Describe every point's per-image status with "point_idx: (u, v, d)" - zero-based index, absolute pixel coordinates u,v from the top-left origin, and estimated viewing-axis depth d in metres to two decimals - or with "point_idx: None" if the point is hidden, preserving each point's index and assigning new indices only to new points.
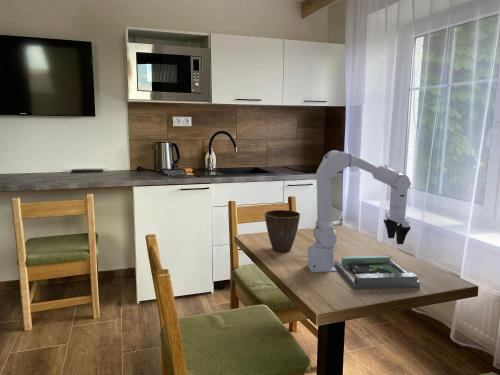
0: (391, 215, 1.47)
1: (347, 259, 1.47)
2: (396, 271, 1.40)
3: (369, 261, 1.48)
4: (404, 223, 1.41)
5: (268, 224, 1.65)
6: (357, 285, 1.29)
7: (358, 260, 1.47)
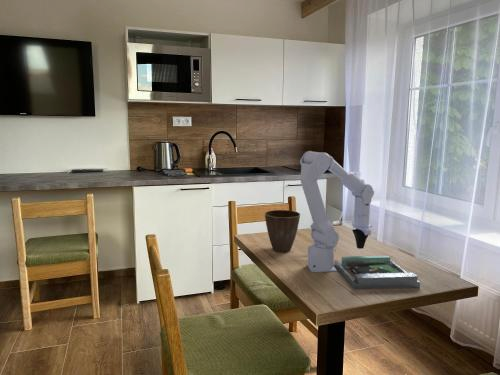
0: (355, 223, 1.52)
1: (347, 259, 1.47)
2: (396, 271, 1.40)
3: (369, 261, 1.48)
4: (366, 231, 1.47)
5: (268, 224, 1.65)
6: (357, 285, 1.29)
7: (358, 260, 1.47)
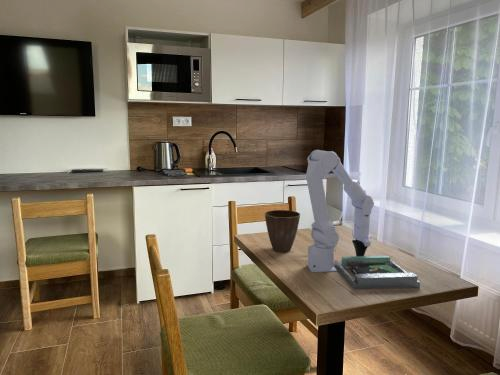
0: (355, 234, 1.52)
1: (347, 259, 1.47)
2: (396, 271, 1.40)
3: (369, 261, 1.48)
4: (366, 242, 1.47)
5: (268, 224, 1.65)
6: (357, 285, 1.29)
7: (358, 260, 1.47)
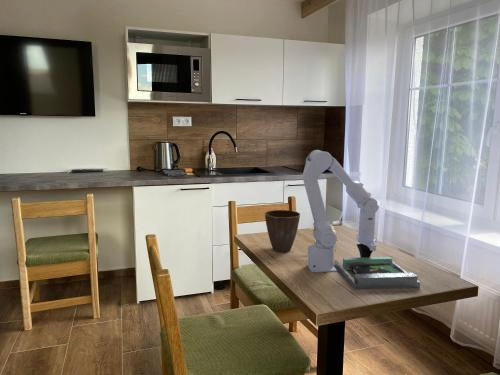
0: (360, 238, 1.47)
1: (348, 260, 1.46)
2: (397, 272, 1.39)
3: (371, 262, 1.46)
4: (371, 247, 1.42)
5: (268, 224, 1.65)
6: (357, 285, 1.29)
7: (359, 261, 1.46)
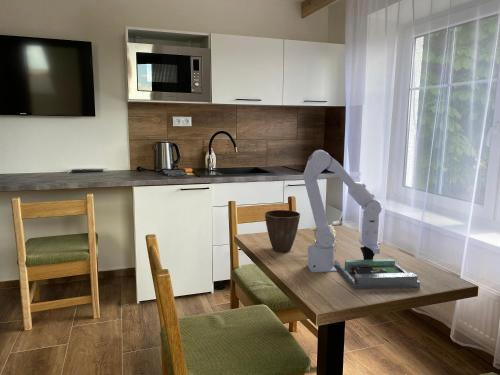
0: (363, 240, 1.44)
1: (350, 262, 1.43)
2: None
3: (373, 265, 1.44)
4: (375, 250, 1.39)
5: (268, 224, 1.65)
6: (357, 285, 1.29)
7: (362, 264, 1.44)
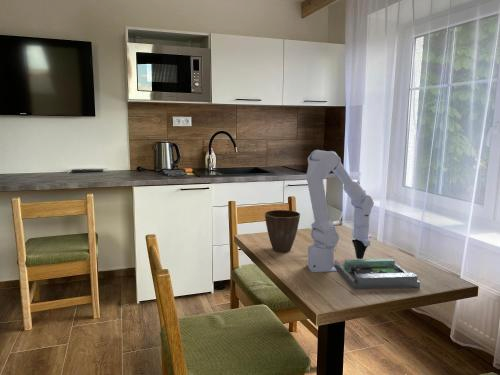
0: (355, 234, 1.53)
1: (350, 262, 1.44)
2: None
3: (373, 264, 1.44)
4: (366, 242, 1.47)
5: (268, 224, 1.65)
6: (357, 285, 1.29)
7: (362, 263, 1.44)
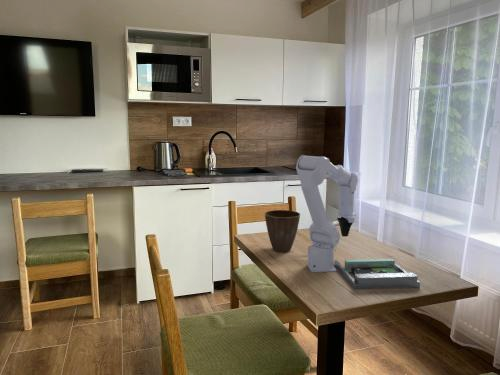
0: (339, 211, 1.55)
1: (350, 262, 1.44)
2: None
3: (373, 264, 1.44)
4: (350, 219, 1.49)
5: (268, 224, 1.65)
6: (357, 285, 1.29)
7: (362, 263, 1.44)
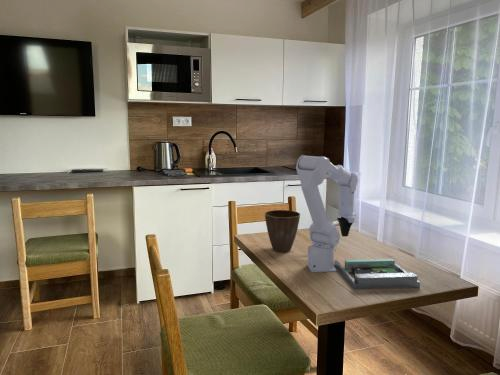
0: (339, 211, 1.55)
1: (350, 262, 1.44)
2: None
3: (373, 264, 1.44)
4: (350, 219, 1.49)
5: (268, 224, 1.65)
6: (357, 285, 1.29)
7: (362, 263, 1.44)
